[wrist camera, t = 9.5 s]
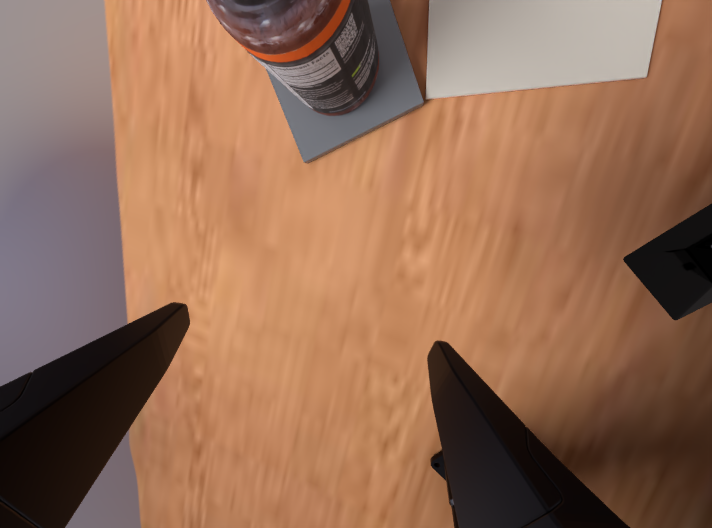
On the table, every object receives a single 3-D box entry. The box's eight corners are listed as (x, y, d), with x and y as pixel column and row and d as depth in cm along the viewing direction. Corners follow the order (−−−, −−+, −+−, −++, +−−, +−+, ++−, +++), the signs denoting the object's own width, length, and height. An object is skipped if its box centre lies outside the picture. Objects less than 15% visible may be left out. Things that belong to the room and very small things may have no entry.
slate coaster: (423, 105, 17) (423, 102, 17) (307, 163, 20) (303, 162, 19) (374, -40, 16) (373, -50, 15) (257, 40, 18) (252, 35, 18)
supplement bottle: (297, 17, 17) (98, -315, 6) (387, 17, 16) (336, -381, 5) (292, 117, 18) (122, -10, 8) (374, 122, 17) (312, -15, 7)
